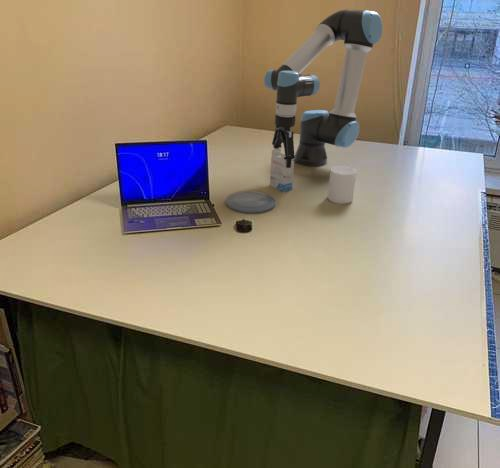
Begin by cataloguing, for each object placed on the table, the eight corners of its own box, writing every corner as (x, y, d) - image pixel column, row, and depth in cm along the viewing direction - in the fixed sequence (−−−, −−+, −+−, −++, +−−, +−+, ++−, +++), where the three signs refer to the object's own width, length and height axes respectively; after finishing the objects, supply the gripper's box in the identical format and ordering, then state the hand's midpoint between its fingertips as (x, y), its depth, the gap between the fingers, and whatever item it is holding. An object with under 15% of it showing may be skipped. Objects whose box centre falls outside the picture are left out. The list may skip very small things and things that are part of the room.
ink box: (292, 189, 190) (295, 153, 184) (283, 191, 188) (285, 155, 181) (278, 183, 196) (280, 147, 190) (269, 185, 193) (271, 149, 187)
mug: (336, 206, 177) (340, 175, 171) (318, 194, 186) (321, 165, 181) (357, 202, 180) (362, 172, 175) (338, 191, 190) (342, 163, 185)
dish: (267, 192, 186) (267, 189, 185) (281, 211, 170) (281, 207, 170) (221, 195, 182) (221, 192, 181) (231, 215, 166) (232, 211, 165)
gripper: (266, 108, 189) (263, 160, 198) (286, 122, 167) (282, 180, 177) (284, 107, 191) (280, 159, 200) (306, 122, 169) (301, 179, 179)
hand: (281, 169), depth 188 cm, fingers open, 13 cm apart
